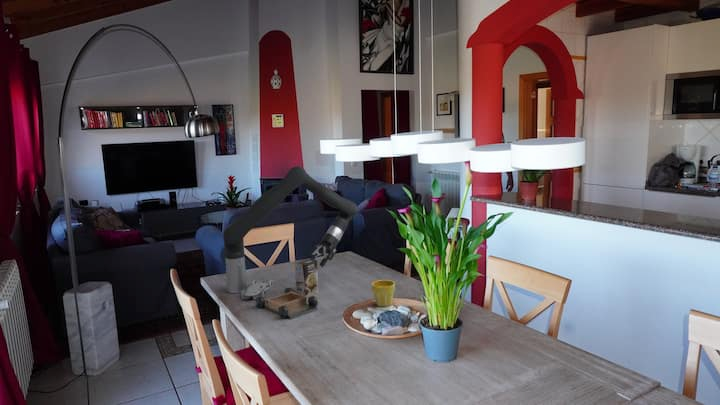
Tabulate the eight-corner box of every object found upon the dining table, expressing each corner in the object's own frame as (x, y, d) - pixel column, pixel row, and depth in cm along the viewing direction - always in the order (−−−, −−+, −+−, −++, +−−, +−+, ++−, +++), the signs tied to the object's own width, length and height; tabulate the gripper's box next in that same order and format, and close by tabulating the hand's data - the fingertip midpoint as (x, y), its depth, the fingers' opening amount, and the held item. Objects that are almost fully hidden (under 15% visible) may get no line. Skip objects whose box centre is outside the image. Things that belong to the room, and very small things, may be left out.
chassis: (254, 305, 227) (253, 295, 226) (285, 295, 238) (285, 285, 238) (287, 320, 208) (287, 308, 207) (320, 309, 220) (319, 298, 219)
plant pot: (368, 306, 220) (367, 285, 219) (378, 299, 229) (377, 278, 228) (389, 310, 215) (389, 288, 214) (399, 302, 224) (398, 281, 223)
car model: (274, 285, 256) (273, 275, 256) (261, 302, 232) (260, 291, 232) (253, 285, 257) (252, 276, 256) (237, 302, 233) (236, 292, 233)
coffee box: (306, 298, 234) (304, 264, 232) (296, 295, 238) (294, 262, 236) (319, 292, 241) (317, 260, 239) (309, 290, 245) (307, 258, 243)
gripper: (319, 230, 250) (301, 257, 244) (337, 234, 240) (320, 262, 234) (327, 239, 255) (311, 265, 249) (346, 243, 245) (329, 271, 239)
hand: (315, 264), depth 242 cm, fingers open, 8 cm apart
